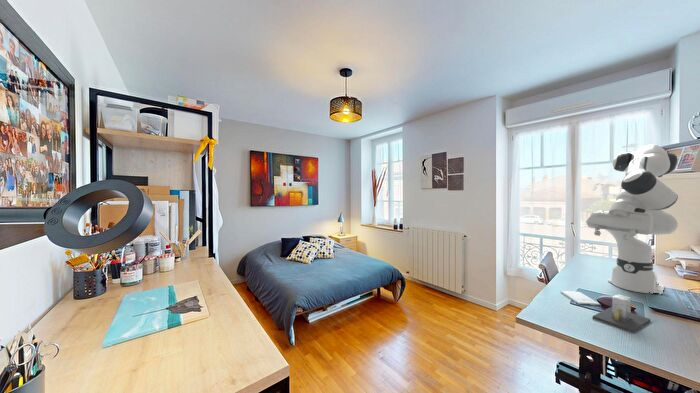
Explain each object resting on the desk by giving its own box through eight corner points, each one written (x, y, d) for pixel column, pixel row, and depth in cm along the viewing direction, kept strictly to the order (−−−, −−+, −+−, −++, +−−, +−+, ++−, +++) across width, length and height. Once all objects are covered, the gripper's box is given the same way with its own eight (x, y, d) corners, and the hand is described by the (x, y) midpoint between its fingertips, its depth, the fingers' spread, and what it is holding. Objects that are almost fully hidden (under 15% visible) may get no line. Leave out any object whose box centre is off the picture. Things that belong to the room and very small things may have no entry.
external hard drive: (580, 295, 120) (600, 307, 108) (560, 293, 122) (578, 305, 109) (580, 291, 120) (600, 303, 108) (560, 290, 122) (578, 302, 109)
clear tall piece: (617, 313, 99) (617, 294, 99) (630, 318, 96) (631, 297, 95) (612, 316, 97) (612, 296, 97) (625, 321, 94) (625, 300, 93)
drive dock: (610, 309, 105) (611, 298, 105) (650, 321, 95) (650, 310, 95) (592, 318, 98) (592, 307, 98) (633, 332, 88) (633, 320, 88)
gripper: (591, 206, 119) (578, 228, 116) (655, 210, 101) (642, 236, 97) (595, 215, 121) (583, 236, 118) (659, 220, 102) (647, 246, 99)
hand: (610, 236), depth 108 cm, fingers open, 8 cm apart
